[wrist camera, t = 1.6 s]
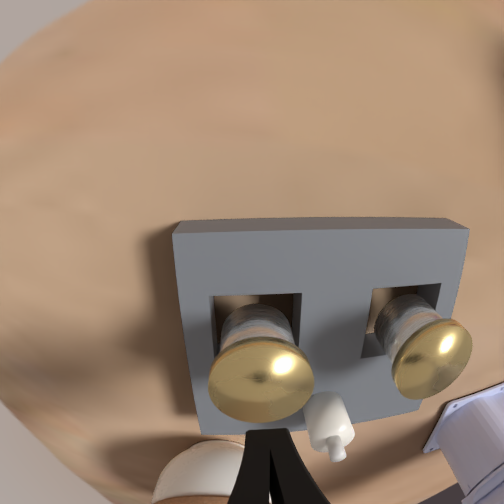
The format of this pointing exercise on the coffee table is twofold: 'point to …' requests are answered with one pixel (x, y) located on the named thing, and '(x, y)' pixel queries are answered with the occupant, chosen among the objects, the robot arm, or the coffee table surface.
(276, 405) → the knob
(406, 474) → the coffee table surface
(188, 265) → the mount plate
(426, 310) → the knob
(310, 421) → the potentiometer
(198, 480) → the lidded jar
